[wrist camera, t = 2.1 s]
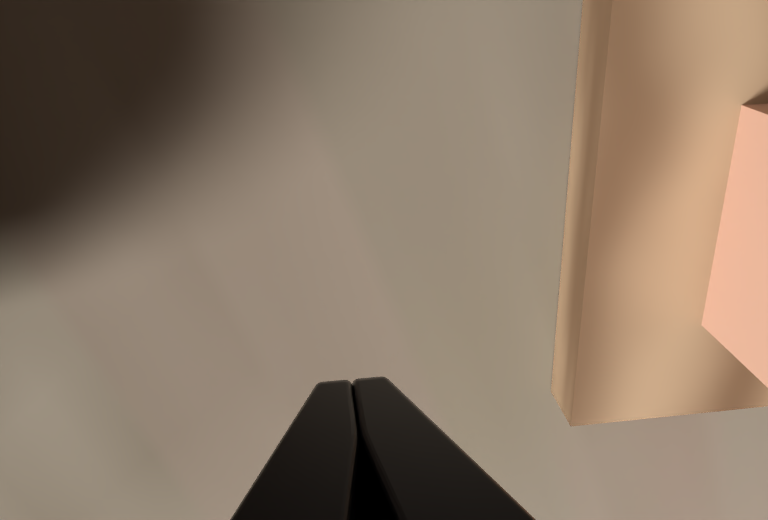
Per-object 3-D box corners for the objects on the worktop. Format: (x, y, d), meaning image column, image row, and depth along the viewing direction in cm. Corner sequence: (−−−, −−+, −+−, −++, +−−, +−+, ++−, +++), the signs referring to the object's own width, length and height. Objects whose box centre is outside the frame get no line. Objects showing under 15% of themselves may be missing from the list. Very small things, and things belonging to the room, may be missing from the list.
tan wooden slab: (551, 391, 25) (570, 426, 23) (585, -29, 19) (615, -26, 17) (861, 361, 26) (903, 392, 24) (983, -46, 20) (1050, -45, 18)
